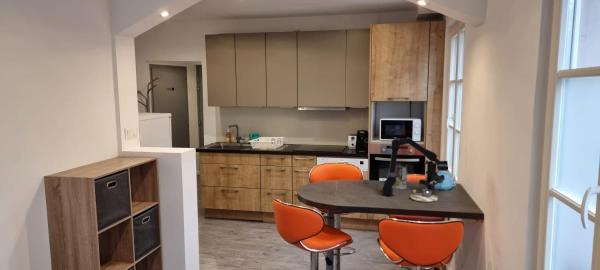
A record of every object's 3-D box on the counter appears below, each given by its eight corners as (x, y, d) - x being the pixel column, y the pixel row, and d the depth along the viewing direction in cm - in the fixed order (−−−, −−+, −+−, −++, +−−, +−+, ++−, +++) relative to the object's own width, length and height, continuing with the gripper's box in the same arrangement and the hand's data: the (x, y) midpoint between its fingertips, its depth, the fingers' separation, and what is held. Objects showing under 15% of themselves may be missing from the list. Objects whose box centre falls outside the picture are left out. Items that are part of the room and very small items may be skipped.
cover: (427, 197, 263) (427, 191, 263) (420, 195, 268) (420, 189, 268) (433, 196, 267) (433, 190, 266) (425, 194, 272) (425, 188, 271)
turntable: (426, 203, 254) (426, 196, 253) (404, 197, 268) (404, 191, 268) (443, 199, 264) (443, 192, 264) (421, 193, 279) (421, 187, 278)
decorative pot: (439, 192, 285) (440, 173, 283) (425, 187, 300) (425, 169, 298) (457, 190, 291) (458, 172, 289) (442, 185, 306) (443, 168, 304)
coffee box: (407, 188, 297) (407, 166, 295) (401, 189, 293) (402, 168, 291) (396, 186, 304) (397, 165, 302) (391, 187, 299) (392, 166, 298)
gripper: (433, 174, 257) (432, 197, 258) (450, 170, 268) (449, 193, 269) (418, 171, 266) (418, 194, 267) (436, 168, 277) (435, 190, 278)
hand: (430, 193), depth 270 cm, fingers closed
